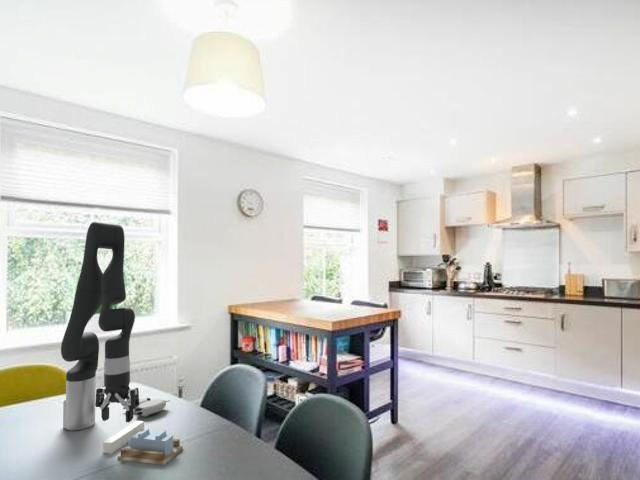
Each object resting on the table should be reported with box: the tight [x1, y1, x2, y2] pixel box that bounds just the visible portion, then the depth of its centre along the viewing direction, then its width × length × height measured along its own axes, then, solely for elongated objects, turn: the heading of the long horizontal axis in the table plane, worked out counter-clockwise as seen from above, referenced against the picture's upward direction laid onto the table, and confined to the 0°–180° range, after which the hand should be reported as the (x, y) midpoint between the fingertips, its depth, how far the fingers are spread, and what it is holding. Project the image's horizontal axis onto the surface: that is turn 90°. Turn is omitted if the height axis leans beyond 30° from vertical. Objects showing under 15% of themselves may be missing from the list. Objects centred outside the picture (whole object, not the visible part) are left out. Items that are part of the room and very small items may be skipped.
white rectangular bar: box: [102, 420, 145, 454], centre depth 130 cm, size 3×16×4 cm, turn 168°
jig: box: [117, 438, 184, 466], centre depth 121 cm, size 16×10×3 cm, turn 78°
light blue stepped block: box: [127, 428, 174, 456], centre depth 121 cm, size 14×4×6 cm, turn 78°
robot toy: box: [122, 397, 171, 418], centre depth 153 cm, size 12×4×15 cm
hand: (117, 420), depth 126 cm, fingers open, 8 cm apart
